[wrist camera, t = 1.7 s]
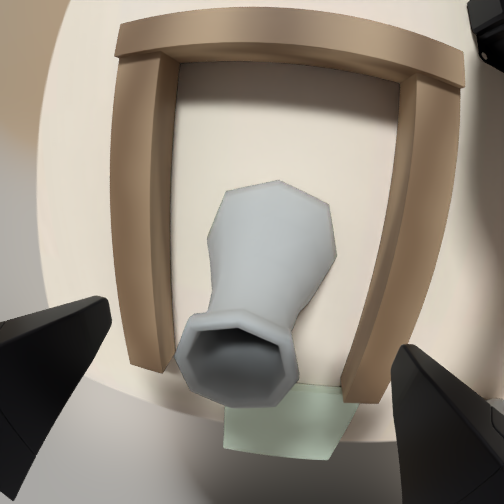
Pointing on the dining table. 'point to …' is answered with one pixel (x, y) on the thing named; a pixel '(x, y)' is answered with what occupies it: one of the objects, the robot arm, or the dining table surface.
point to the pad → (291, 424)
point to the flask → (256, 294)
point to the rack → (293, 52)
